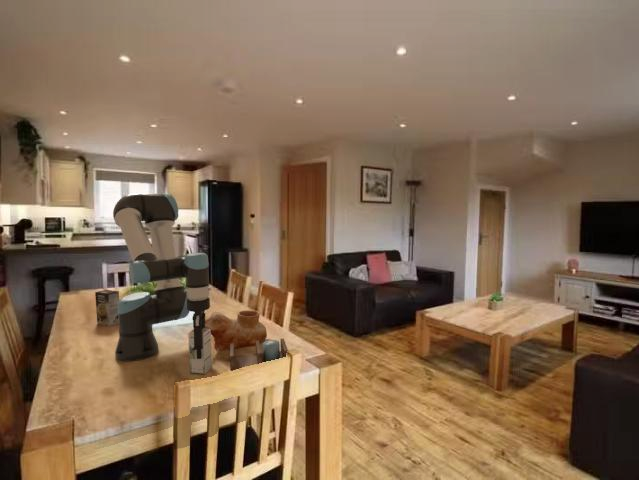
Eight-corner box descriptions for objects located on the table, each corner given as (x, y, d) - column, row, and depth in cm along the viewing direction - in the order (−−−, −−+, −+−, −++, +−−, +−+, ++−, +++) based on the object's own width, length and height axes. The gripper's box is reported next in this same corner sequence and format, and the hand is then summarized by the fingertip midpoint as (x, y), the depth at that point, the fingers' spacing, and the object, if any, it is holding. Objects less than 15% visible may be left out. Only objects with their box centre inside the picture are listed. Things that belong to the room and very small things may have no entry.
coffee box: (96, 324, 180) (94, 292, 178) (108, 320, 186) (106, 289, 184) (109, 326, 176) (107, 293, 175) (121, 322, 182) (119, 290, 181)
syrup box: (212, 367, 130) (211, 327, 128) (205, 374, 124) (203, 333, 122) (197, 366, 130) (196, 327, 129) (189, 373, 125) (187, 332, 123)
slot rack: (230, 373, 124) (229, 356, 124) (230, 359, 136) (230, 343, 136) (288, 367, 129) (287, 350, 128) (283, 353, 141) (283, 338, 140)
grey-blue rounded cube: (264, 362, 130) (263, 346, 129) (262, 356, 136) (262, 340, 135) (280, 361, 131) (280, 344, 131) (278, 354, 137) (278, 338, 136)
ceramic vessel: (201, 344, 151) (199, 309, 150) (262, 335, 162) (261, 302, 160) (205, 357, 138) (203, 319, 137) (271, 345, 149) (270, 310, 148)
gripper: (207, 304, 116) (210, 373, 118) (211, 290, 135) (213, 349, 137) (182, 306, 114) (185, 376, 116) (190, 291, 134) (193, 351, 136)
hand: (201, 361), depth 127 cm, fingers closed on syrup box, 7 cm apart
